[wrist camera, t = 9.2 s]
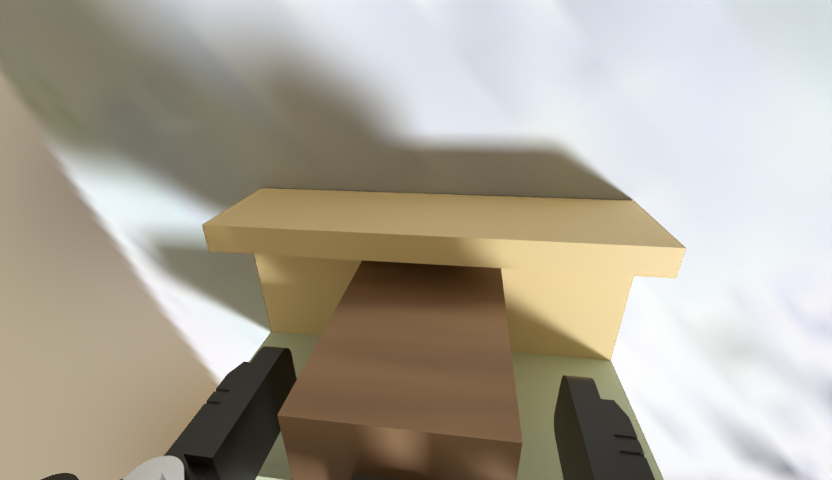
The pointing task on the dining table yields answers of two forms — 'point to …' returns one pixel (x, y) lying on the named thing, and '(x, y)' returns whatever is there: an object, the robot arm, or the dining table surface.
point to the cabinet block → (408, 381)
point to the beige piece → (462, 246)
